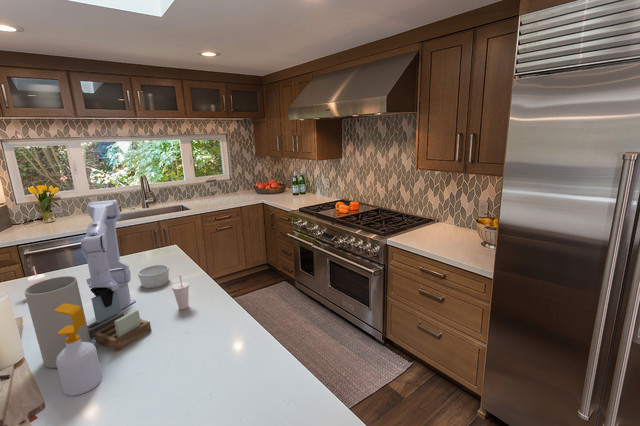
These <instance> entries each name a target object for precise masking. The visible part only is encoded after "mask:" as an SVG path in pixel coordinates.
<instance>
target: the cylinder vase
mask: <svg viewBox="0 0 640 426" xmlns="http://www.w3.org/2000/svg"><path fill="white" fill-rule="evenodd" d="M23 291H24V296H25V298H26V302H27V306H28V311H29V313H30V317H31V322H32V326H33V329H34V332H35V337H36V341H37V342H38V347H39V350H40V354H41V358H42V361H43V365H44V366H45V367H46V368H49V369H57V365H56V359H57V356H58V355H59V353H60V352H61V351H62V350H63V349H65V348H66V343H65V340H66V339H67V338H68V336H65V335H58V332H59V331H60V330H62V329H63V328H64V327H65V326H68V325H73V322H72V318H71V317H70V315H67V314H62V313H57V312H55V309H56V308H58V307H59V306H60V305H62V304H64V303H67V304H72V305H78V306H80V307H81V308H82V310H83V315H84V319H85V324H84V325H83V326H82V327H81V328H80V329H79V330H77V333H75V334H76V335H80V339H81V342H89V343H92V340H91V338H90V336H89V332H88V327H87V326H88V324H87V319H86V314H85V310H84V306H83V302H82V297H81V293H80V289H79V284H78V280H77V277H76V276H73V275H64V276H63V275H62V276H56V277H51V278H46V279H45V280H43V281H40V282H38V283H35V284H33V285H31V286H30V285H29V286H28V287H26V288H25V290H23Z"/></svg>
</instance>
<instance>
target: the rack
mask: <svg viewBox="0 0 640 426" xmlns="http://www.w3.org/2000/svg"><path fill="white" fill-rule="evenodd" d="M140 321H141V325H140V326H139V327H137V328H135V329H134V330H132V331H130V332H128V333H127V334H125V335H123V336H122V337H120V338H118V339H117V334H116V330H115V325H114V323H112V324H111V325H109V326H107V327H105V328H103V329H101V330H99V331H98V332H96V333H94V338H93V339H94V342H95V343H96V344H98V345H101V346H104V347H106V348H109V349H112V350H114V351H117V352H120V351H121V350H123V349H124V348H126V347H127V346H129V345H131V344H132V343H134V342H135V341H137V340H138V339H141V338H142V337H143V336H145V335H147V334H148V333H150V332H151V331H152V326H151V322H150V321H148V320H145V319H141V318H140Z"/></svg>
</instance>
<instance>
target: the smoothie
mask: <svg viewBox="0 0 640 426" xmlns="http://www.w3.org/2000/svg"><path fill="white" fill-rule="evenodd" d="M179 281H180V282H176V283H175V284H173V285H172V286H171V290H172V291H173V294H174V297H175V300H176V301H175V302H176V304H177V307H178V309H179V310H181V311H182V310H186V309H188V308H189V305H190V304H189V297H190V295H189V291H190V290H189V288H190V284H189V282H188V281H187V282H185V281H183V280H182V275H179Z"/></svg>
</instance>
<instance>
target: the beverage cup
mask: <svg viewBox="0 0 640 426" xmlns="http://www.w3.org/2000/svg"><path fill="white" fill-rule="evenodd" d="M32 268H33V272H34V275H31V276H29V277H28V278H27V281H28V283H29V286H31V285H33V284H35V283H38V282H40V281H43V280H46V274H45V273H44V274H43V273H41V274H37V272H36V267H35V265H33V266H32Z"/></svg>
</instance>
